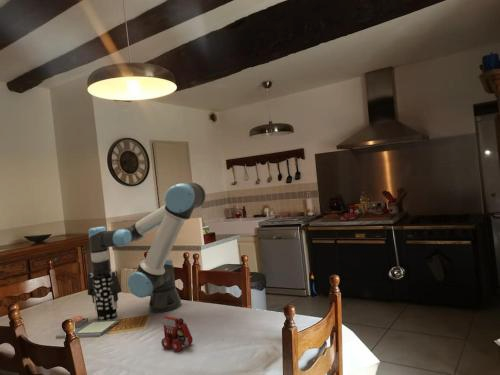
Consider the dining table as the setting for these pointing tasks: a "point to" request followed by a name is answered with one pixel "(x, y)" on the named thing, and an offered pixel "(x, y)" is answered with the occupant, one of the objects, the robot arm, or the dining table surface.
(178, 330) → the toy fire truck
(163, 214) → the robot arm
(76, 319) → the button
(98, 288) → the white-spotted black cylinder
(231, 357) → the dining table surface
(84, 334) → the picture board
